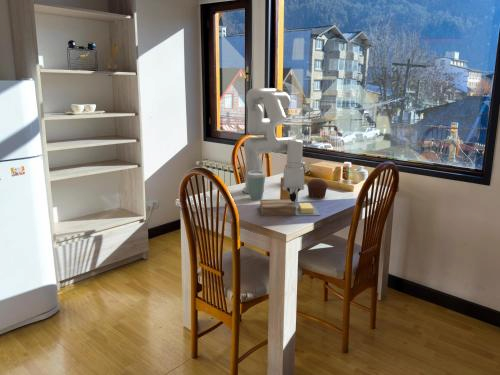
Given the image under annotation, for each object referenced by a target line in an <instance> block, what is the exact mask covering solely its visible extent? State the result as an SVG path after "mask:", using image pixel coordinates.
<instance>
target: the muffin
mask: <svg viewBox="0 0 500 375" xmlns="http://www.w3.org/2000/svg"><path fill="white" fill-rule="evenodd" d="M306 186H307V190H308V191H307V192H308V197H309V198H311V199H315V200H316V199H317V200H318V199H319V200H320V199H324V198H325V197H326V194H327V189H328V186H329V185H328V183H327V181H325V180H324V179H321V178H313V179H311V180H309V181H308V183H307V184H306Z"/></svg>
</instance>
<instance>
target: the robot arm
mask: <svg viewBox="0 0 500 375" xmlns="http://www.w3.org/2000/svg"><path fill="white" fill-rule="evenodd" d="M245 100H246V101H245V102H246V106H247V133H248V134H249V135H250V136H256V137H249V138H246V139H245V141H244V142H243V149H244V155H245V175H246V174H247V173H248V172H249V171H253V170H259V171H263V161H262V158H261V157H260V156H259V155H262V154H263V155H264V154H271V153H274V154H281V153H282V154H283V153H286V164H287V166H286V165H285V166H286V167H285V166H284V169H283V176H282V177H283V190H287V191H288V192H289V193H290V200H291V201H292V202H293V203H295V202H296V201H295V200H296V194H297V193H298V194H299V192H300V191H303V190H305V176H304V170H303V167H302V166H303V165H304V166H305V165H306V163H305V162H303V147H304V142H303V140H302V139H298V138H295V137H293V136H283V137H277V136H276V127H278V126H280V125H282V124H283V123H284V122H286V121H287V116H286V113H285V111H284V109H285V110H286V109H288V108H290V106H291V98H290V95H289V94H288V93H287V92H285V91H283V90H281V89H279V88H273V87H256V88H255V87H254V88H250V89H249V90H248V91H247V93H246V98H245ZM262 105H264V109H265V112H266V114H267V117H264V109H263V107H262ZM257 136H259V137H257ZM292 188H294V192H292ZM242 192H243V194H248V195H250V193H249V187H248V180H247V177H246V176H245V186H244V188H243V189H242ZM263 193H265V189H263Z"/></svg>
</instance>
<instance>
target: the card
mask: <svg viewBox="0 0 500 375" xmlns="http://www.w3.org/2000/svg"><path fill="white" fill-rule="evenodd" d="M298 205H299V206H298V208H299V210H300V212H301V213H313V212H314V208H313V206H312V205H313V204H311V202H299V203H298Z"/></svg>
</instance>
